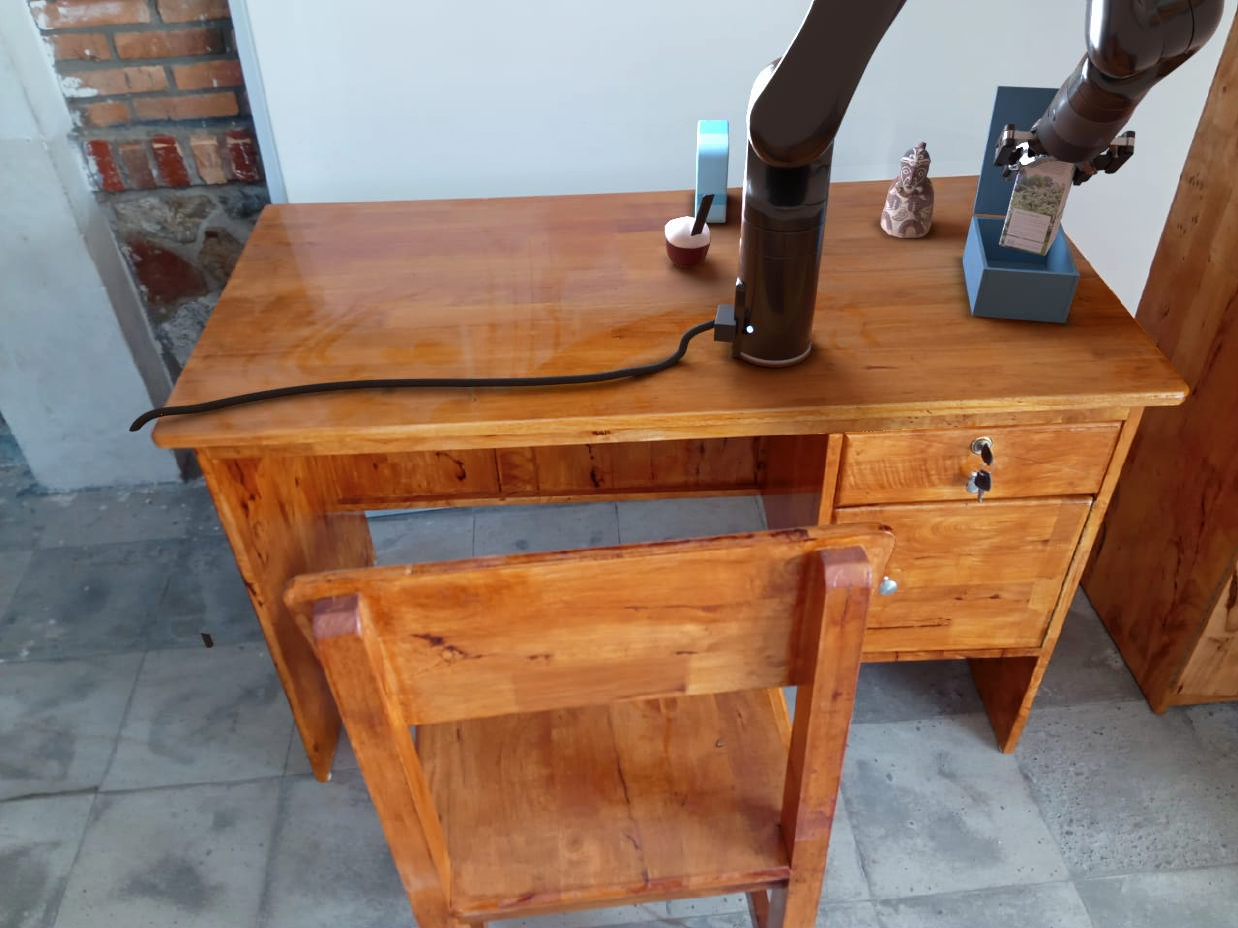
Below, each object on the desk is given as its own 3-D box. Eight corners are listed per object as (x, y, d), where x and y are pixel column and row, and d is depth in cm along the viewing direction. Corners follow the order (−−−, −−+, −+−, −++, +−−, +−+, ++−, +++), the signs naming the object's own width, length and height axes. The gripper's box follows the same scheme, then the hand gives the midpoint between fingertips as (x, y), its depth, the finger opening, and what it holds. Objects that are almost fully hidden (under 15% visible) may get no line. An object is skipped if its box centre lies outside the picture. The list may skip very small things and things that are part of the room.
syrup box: (1056, 240, 120) (1091, 124, 111) (1044, 258, 116) (1080, 140, 107) (1009, 229, 122) (1040, 115, 113) (997, 247, 118) (1027, 130, 109)
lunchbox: (1065, 323, 119) (1080, 275, 115) (971, 316, 121) (983, 269, 117) (1047, 266, 130) (1060, 221, 126) (962, 260, 132) (972, 215, 128)
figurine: (872, 230, 140) (884, 150, 132) (891, 213, 144) (904, 134, 137) (919, 242, 137) (934, 160, 129) (937, 224, 141) (953, 144, 134)
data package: (725, 226, 142) (729, 147, 134) (694, 226, 142) (697, 147, 135) (724, 193, 151) (728, 117, 144) (696, 193, 152) (698, 117, 144)
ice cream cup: (662, 248, 137) (663, 167, 129) (706, 247, 137) (709, 166, 129) (668, 280, 130) (668, 196, 122) (714, 279, 130) (717, 195, 122)
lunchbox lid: (1092, 90, 118) (1091, 89, 118) (998, 86, 120) (997, 85, 120) (1061, 219, 126) (1060, 218, 126) (973, 214, 128) (972, 212, 128)
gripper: (1165, 80, 98) (1108, 150, 114) (1019, 73, 100) (983, 142, 117) (1160, 150, 97) (1102, 210, 114) (1013, 141, 100) (977, 201, 116)
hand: (1042, 176), depth 115 cm, fingers closed on syrup box, 7 cm apart
